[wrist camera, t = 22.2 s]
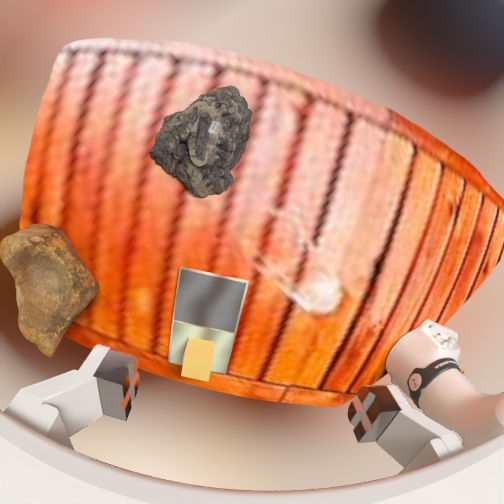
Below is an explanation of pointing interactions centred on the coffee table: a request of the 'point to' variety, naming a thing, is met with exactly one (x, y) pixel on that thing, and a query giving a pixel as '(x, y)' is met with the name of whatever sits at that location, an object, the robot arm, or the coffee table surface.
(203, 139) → the dark grey rock
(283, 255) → the coffee table surface
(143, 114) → the coffee table surface
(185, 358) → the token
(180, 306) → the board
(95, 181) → the coffee table surface
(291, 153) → the coffee table surface
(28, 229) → the rough brown rock
